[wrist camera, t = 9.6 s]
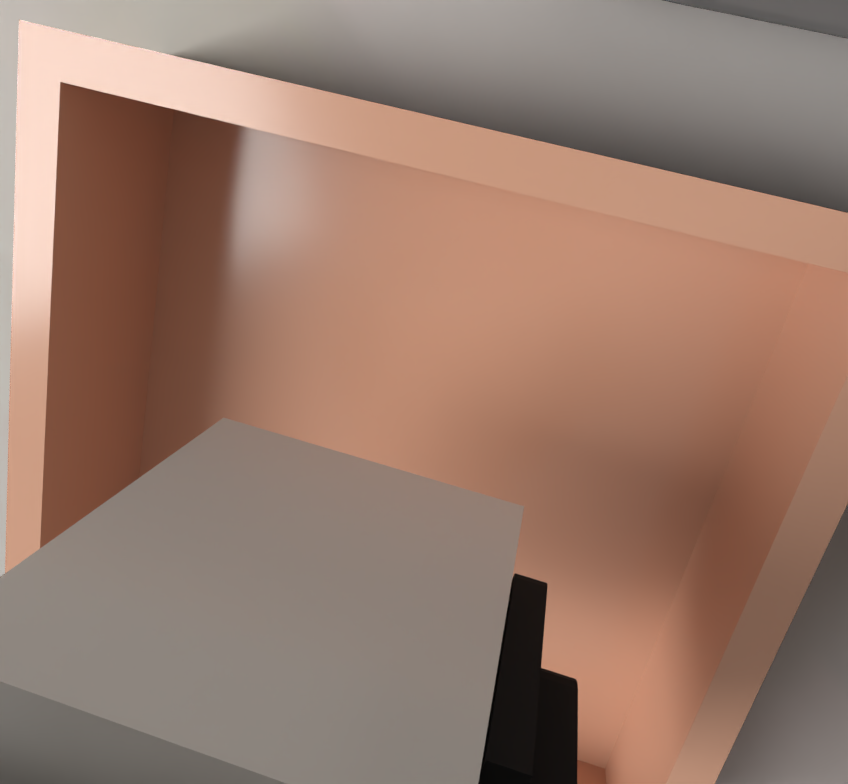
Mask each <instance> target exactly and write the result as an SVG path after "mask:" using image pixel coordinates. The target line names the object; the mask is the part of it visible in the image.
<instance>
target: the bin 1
mask: <svg viewBox="0 0 848 784" xmlns="http://www.w3.org/2000/svg"><path fill="white" fill-rule="evenodd" d="M222 418H227V419H230V420H234V421H237V422H240V423H244V424H247V425H251V426H254V427H257V428H261V429H264V430H268V431H271V432H274V433H278V434H281V435H284V436H288V437H291V438H295V439H298V440H301V441H305V442H308V443H311V444H315V445H318V446H322V447H325V448H328V449H332V450H335V451H339V452H342V453H345V454H349V455H352V456H355V457H359V458H362V459H366V460H369V461H372V462H376V463H379V464H383V465H386V466H389V467H393V468H396V469H399V470H403V471H406V472H410V473H413V474H416V475H420V476H423V477H426V478H430V479H433V480H437V481H440V482H443V483H447V484H450V485H454V486H457V487H460V488H464V489H467V490H470V491H474V492H477V493H481V494H484V495H487V496H491V497H494V498H498V499H501V500H504V501H508V502H511V503H514V504H518V505H521V506H524V510H523V516H522V522H521V528H520V534H519V540H518V547H517V553H516V559H515V565H514V571H513V576H514V574H515V573H516V574H520V575H523V576H526V577H529V578H533V579H536V580H539V581H542V582H546V583H547V599H546V612H545V624H544V637H543V649H542V662H541V668H543V669H547V670H550V671H553V672H556V673H559V674H562V675H565V676H568V677H571V678H574V679H576V680H577V683H578V757H577V784H715V782H716V780H717V778H718V776H719V773H720V771H721V769H722V767H723V765H724V763H725V761H726V759H727V757H728V755H729V752H730V750H731V748H732V746H733V744H734V742H735V740H736V738H737V736H738V733H739V731H740V729H741V727H742V725H743V723H744V721H745V719H746V717H747V715H748V712H749V710H750V708H751V706H752V704H753V702H754V700H755V698H756V696H757V693H758V691H759V689H760V687H761V685H762V683H763V681H764V679H765V677H766V675H767V672H768V670H769V668H770V666H771V664H772V662H773V660H774V658H775V656H776V654H777V651H778V649H779V647H780V645H781V643H782V641H783V639H784V637H785V635H786V632H787V630H788V628H789V626H790V624H791V622H792V620H793V618H794V616H795V614H796V611H797V609H798V607H799V605H800V603H801V601H802V599H803V597H804V595H805V592H806V590H807V588H808V586H809V584H810V582H811V580H812V578H813V576H814V574H815V571H816V569H817V567H818V565H819V563H820V561H821V559H822V557H823V555H824V552H825V550H826V548H827V546H828V544H829V542H830V540H831V538H832V536H833V534H834V531H835V529H836V527H837V525H838V523H839V521H840V519H841V517H842V515H843V512H844V510H845V508H846V506H847V504H848V213H846V212H842V211H838V210H834V209H829V208H825V207H821V206H816V205H812V204H808V203H804V202H799V201H795V200H791V199H786V198H782V197H778V196H773V195H769V194H765V193H761V192H756V191H752V190H748V189H743V188H739V187H735V186H731V185H726V184H722V183H718V182H713V181H709V180H705V179H701V178H696V177H692V176H688V175H683V174H679V173H675V172H670V171H666V170H662V169H658V168H653V167H649V166H645V165H640V164H636V163H632V162H628V161H623V160H619V159H615V158H610V157H606V156H602V155H598V154H593V153H589V152H585V151H580V150H576V149H572V148H568V147H563V146H559V145H555V144H550V143H546V142H542V141H537V140H533V139H529V138H525V137H520V136H516V135H512V134H507V133H503V132H499V131H495V130H490V129H486V128H482V127H477V126H473V125H469V124H465V123H460V122H456V121H452V120H447V119H443V118H439V117H434V116H430V115H426V114H422V113H417V112H413V111H409V110H404V109H400V108H396V107H392V106H387V105H383V104H379V103H374V102H370V101H366V100H362V99H357V98H353V97H349V96H344V95H340V94H336V93H332V92H327V91H323V90H319V89H314V88H310V87H306V86H301V85H297V84H293V83H289V82H284V81H280V80H276V79H271V78H267V77H263V76H259V75H254V74H250V73H246V72H241V71H237V70H233V69H229V68H224V67H220V66H216V65H211V64H207V63H203V62H198V61H194V60H190V59H186V58H181V57H177V56H173V55H168V54H164V53H160V52H156V51H151V50H147V49H143V48H138V47H134V46H130V45H126V44H121V43H117V42H113V41H108V40H104V39H100V38H96V37H91V36H87V35H83V34H78V33H74V32H70V31H65V30H61V29H57V28H53V27H48V26H44V25H40V24H35V23H31V22H27V21H23V20H19V37H18V77H17V117H16V158H15V198H14V238H13V278H12V319H11V359H10V399H9V439H8V480H7V520H6V560H5V573H6V572H8V571H9V570H11V569H12V568H13V567H15V566H16V565H18V564H19V563H20V562H22V561H23V560H25V559H26V558H27V557H29V556H30V555H32V554H33V553H35V552H36V551H37V550H39V549H40V548H42V547H43V546H44V545H46V544H47V543H49V542H50V541H51V540H53V539H54V538H56V537H57V536H58V535H60V534H61V533H63V532H64V531H65V530H67V529H68V528H70V527H71V526H72V525H74V524H75V523H77V522H78V521H79V520H81V519H82V518H84V517H85V516H86V515H88V514H89V513H91V512H92V511H93V510H95V509H96V508H98V507H99V506H100V505H102V504H103V503H105V502H106V501H107V500H109V499H110V498H112V497H113V496H114V495H116V494H117V493H119V492H120V491H121V490H123V489H124V488H126V487H127V486H128V485H130V484H131V483H133V482H134V481H135V480H137V479H138V478H140V477H141V476H142V475H144V474H145V473H147V472H148V471H150V470H151V469H152V468H154V467H155V466H157V465H158V464H159V463H161V462H162V461H164V460H165V459H166V458H168V457H169V456H171V455H172V454H173V453H175V452H176V451H178V450H179V449H180V448H182V447H183V446H185V445H186V444H187V443H189V442H190V441H192V440H193V439H194V438H196V437H197V436H199V435H200V434H201V433H203V432H204V431H206V430H207V429H208V428H210V427H211V426H213V425H214V424H215V423H217V422H218V421H220V420H221V419H222ZM512 579H513V577H512Z"/></svg>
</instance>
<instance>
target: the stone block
mask: <svg viewBox="0 0 848 784" xmlns="http://www.w3.org/2000/svg"><path fill="white" fill-rule="evenodd" d="M523 510H524V506H521V505H518V504H514V503H511V502H508V501H504V500H501V499H498V498H494V497H491V496H487V495H484V494H481V493H477V492H474V491H470V490H467V489H464V488H460V487H457V486H454V485H450V484H447V483H443V482H440V481H437V480H433V479H430V478H426V477H423V476H420V475H416V474H413V473H410V472H406V471H403V470H399V469H396V468H393V467H389V466H386V465H383V464H379V463H376V462H372V461H369V460H366V459H362V458H359V457H355V456H352V455H349V454H345V453H342V452H339V451H335V450H332V449H328V448H325V447H322V446H318V445H315V444H311V443H308V442H305V441H301V440H298V439H295V438H291V437H288V436H284V435H281V434H278V433H274V432H271V431H268V430H264V429H261V428H257V427H254V426H251V425H247V424H244V423H240V422H237V421H234V420H230V419H227V418H222V419H221V420H220V421H218V422H217V423H215V424H214V425H213V426H211V427H210V428H208V429H207V430H206V431H204V432H203V433H201V434H200V435H199V436H197V437H196V438H194V439H193V440H192V441H190V442H189V443H187V444H186V445H185V446H183V447H182V448H180V449H179V450H178V451H176V452H175V453H173V454H172V455H171V456H169V457H168V458H166V459H165V460H164V461H162V462H161V463H159V464H158V465H157V466H155V467H154V468H152V469H151V470H150V471H148V472H147V473H145V474H144V475H142V476H141V477H140V478H138V479H137V480H135V481H134V482H133V483H131V484H130V485H128V486H127V487H126V488H124V489H123V490H121V491H120V492H119V493H117V494H116V495H114V496H113V497H112V498H110V499H109V500H107V501H106V502H105V503H103V504H102V505H100V506H99V507H98V508H96V509H95V510H93V511H92V512H91V513H89V514H88V515H86V516H85V517H84V518H82V519H81V520H79V521H78V522H77V523H75V524H74V525H72V526H71V527H70V528H68V529H67V530H65V531H64V532H63V533H61V534H60V535H58V536H57V537H56V538H54V539H53V540H51V541H50V542H49V543H47V544H46V545H44V546H43V547H42V548H40V549H39V550H37V551H36V552H35V553H33V554H32V555H30V556H29V557H27V558H26V559H25V560H23V561H22V562H20V563H19V564H18V565H16V566H15V567H13V568H12V569H11V570H9V571H8V572H6V573H5V574H4V575H2V576H1V577H0V784H478V782H479V776H480V770H481V764H482V758H483V752H484V746H485V740H486V734H487V728H488V722H489V716H490V710H491V704H492V698H493V692H494V686H495V680H496V674H497V668H498V661H499V655H500V649H501V643H502V637H503V631H504V625H505V619H506V613H507V607H508V601H509V595H510V589H511V583H512V577H513V571H514V565H515V559H516V553H517V547H518V540H519V534H520V528H521V522H522V516H523Z"/></svg>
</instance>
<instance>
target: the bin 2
mask: <svg viewBox="0 0 848 784" xmlns="http://www.w3.org/2000/svg"><path fill="white" fill-rule="evenodd" d="M664 1H669V2H674V3H679V4H683V5H688V6H693V7H698V8H703V9H708V10H713V11H717V12H722V13H727V14H732V15H737V16H742V17H747V18H752V19H756V20H761V21H766V22H771V23H776V24H781V25H786V26H791V27H795V28H800V29H805V30H810V31H815V32H820V33H825V34H829V35H834V36H839V37H844V38H848V0H664Z"/></svg>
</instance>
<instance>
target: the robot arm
mask: <svg viewBox="0 0 848 784" xmlns="http://www.w3.org/2000/svg"><path fill="white" fill-rule="evenodd" d="M546 599H547V583H546V582H542V581H539V580H536V579H533V578H529V577H526V576H523V575H520V574H516V573H515V574H514V576H513V579H512V583H511V589H510V595H509V601H508V607H507V613H506V619H505V625H504V631H503V637H502V643H501V649H500V655H499V661H498V668H497V674H496V680H495V686H494V692H493V698H492V704H491V710H490V716H489V722H488V728H487V734H486V740H485V746H484V752H483V758H482V764H481V770H480V776H479V782H478V784H577V757H578V683H577V680H576V679H574V678H571V677H568V676H565V675H562V674H559V673H556V672H553V671H550V670H547V669H543V668H541V662H542V649H543V637H544V624H545V612H546Z"/></svg>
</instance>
